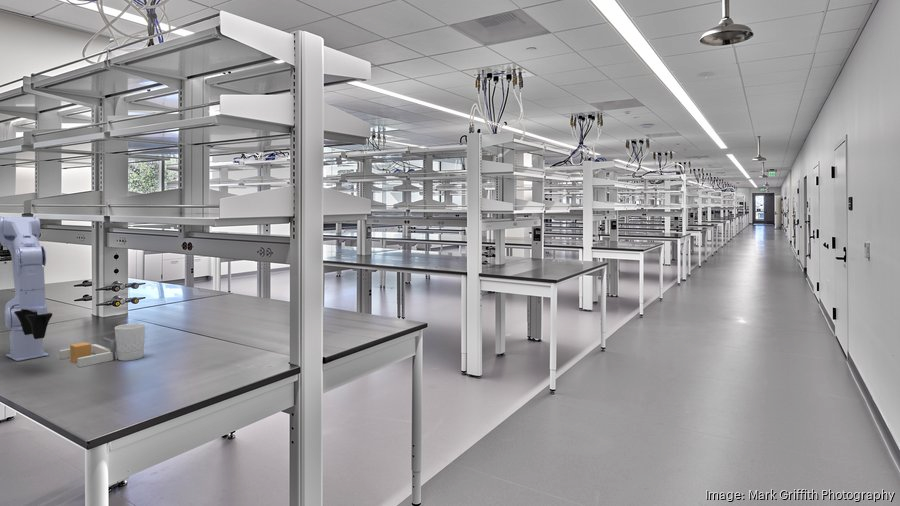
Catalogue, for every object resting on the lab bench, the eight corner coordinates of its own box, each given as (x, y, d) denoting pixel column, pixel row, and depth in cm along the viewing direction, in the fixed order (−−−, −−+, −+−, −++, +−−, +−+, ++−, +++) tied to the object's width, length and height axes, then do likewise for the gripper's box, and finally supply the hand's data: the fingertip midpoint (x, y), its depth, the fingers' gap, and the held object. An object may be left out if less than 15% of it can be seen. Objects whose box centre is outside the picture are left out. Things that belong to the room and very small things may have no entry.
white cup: (148, 353, 161) (147, 322, 160) (142, 360, 154) (141, 328, 153) (119, 355, 158) (118, 324, 157) (112, 362, 151) (111, 329, 150)
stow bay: (59, 358, 154) (58, 339, 153) (96, 351, 162) (95, 333, 161) (79, 367, 146) (78, 347, 145) (116, 359, 154) (116, 340, 153)
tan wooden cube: (70, 361, 152) (70, 344, 151) (86, 357, 155) (85, 342, 155) (76, 363, 149) (75, 346, 149) (91, 360, 153) (91, 344, 152)
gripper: (5, 288, 143) (7, 335, 144) (23, 293, 135) (25, 343, 136) (35, 285, 148) (38, 330, 150) (55, 290, 140) (57, 338, 142)
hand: (34, 336), depth 143 cm, fingers open, 7 cm apart
